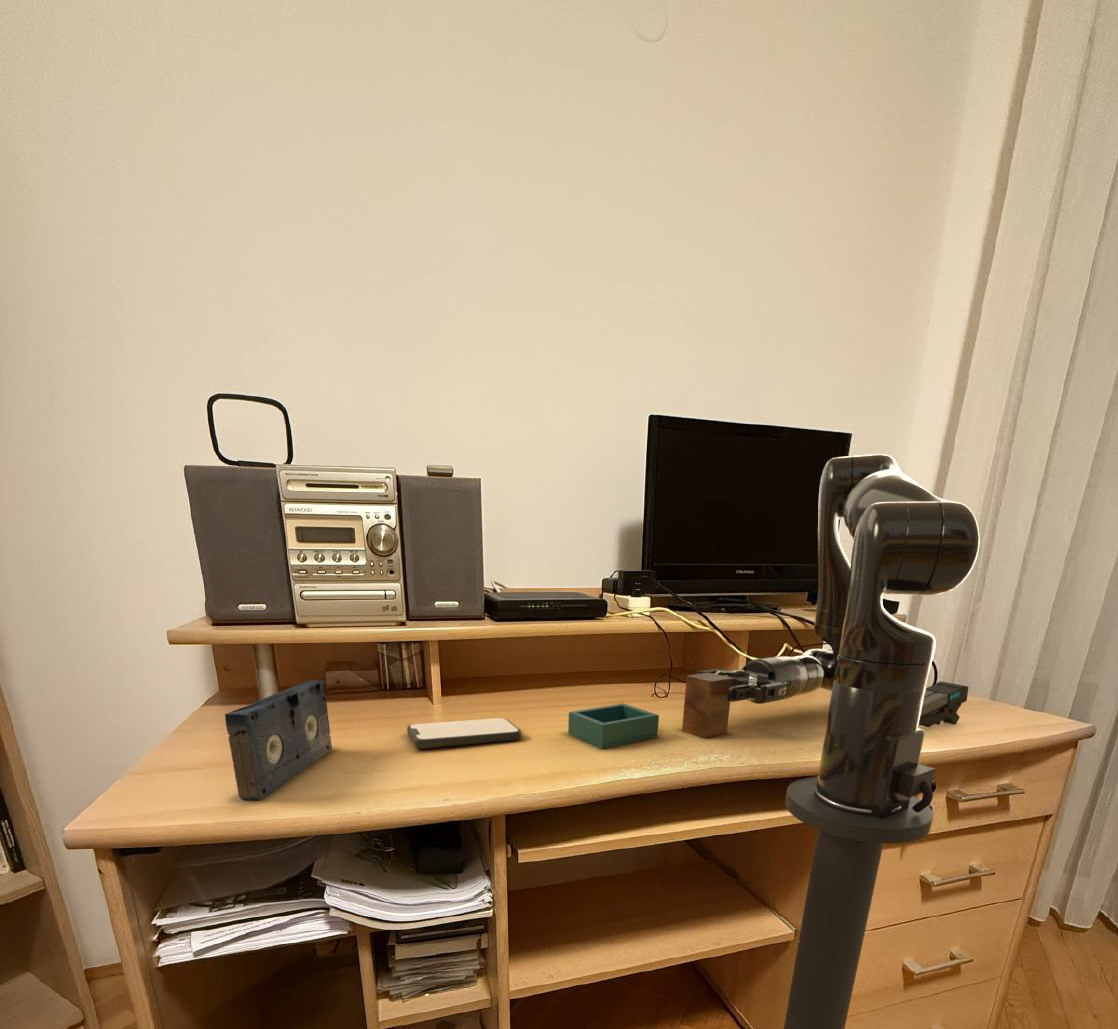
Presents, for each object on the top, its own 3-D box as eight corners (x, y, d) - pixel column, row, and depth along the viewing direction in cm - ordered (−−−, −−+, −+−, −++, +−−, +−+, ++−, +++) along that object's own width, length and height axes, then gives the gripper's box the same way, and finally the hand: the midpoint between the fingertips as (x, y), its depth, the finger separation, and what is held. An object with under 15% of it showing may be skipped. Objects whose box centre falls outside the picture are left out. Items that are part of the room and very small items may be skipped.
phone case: (505, 726, 96) (406, 734, 90) (505, 716, 96) (405, 724, 90) (523, 742, 89) (416, 751, 83) (524, 731, 88) (416, 740, 82)
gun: (968, 722, 101) (970, 669, 96) (893, 776, 94) (891, 722, 90) (942, 716, 104) (942, 665, 100) (867, 767, 98) (864, 715, 93)
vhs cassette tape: (316, 748, 83) (307, 679, 80) (336, 749, 83) (328, 680, 80) (233, 800, 66) (219, 714, 63) (258, 801, 66) (245, 715, 63)
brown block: (726, 733, 94) (733, 677, 91) (705, 738, 91) (710, 681, 88) (703, 726, 98) (708, 672, 95) (681, 730, 95) (686, 675, 92)
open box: (657, 737, 91) (659, 714, 90) (601, 749, 85) (602, 725, 84) (622, 724, 98) (623, 703, 97) (568, 734, 92) (568, 712, 91)
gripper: (743, 651, 105) (677, 658, 97) (814, 663, 94) (748, 673, 85) (738, 692, 108) (674, 703, 99) (807, 709, 96) (742, 723, 88)
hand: (708, 689), depth 92 cm, fingers open, 8 cm apart
